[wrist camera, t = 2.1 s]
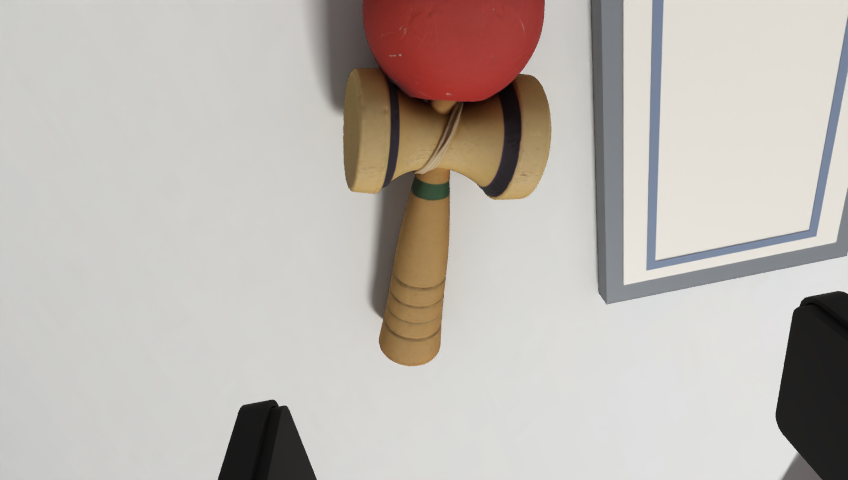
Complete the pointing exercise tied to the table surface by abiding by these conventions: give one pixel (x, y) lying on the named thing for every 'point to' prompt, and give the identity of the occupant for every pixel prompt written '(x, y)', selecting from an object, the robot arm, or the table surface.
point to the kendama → (442, 135)
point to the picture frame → (717, 139)
